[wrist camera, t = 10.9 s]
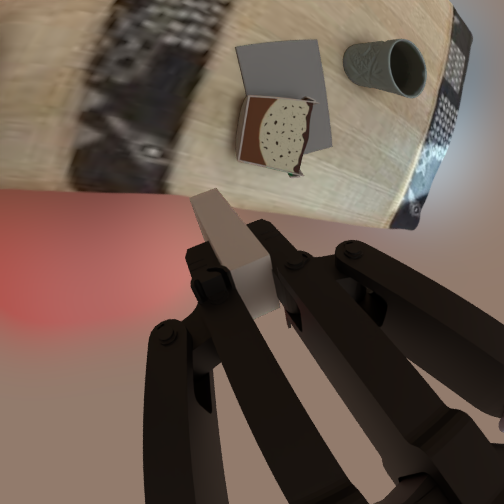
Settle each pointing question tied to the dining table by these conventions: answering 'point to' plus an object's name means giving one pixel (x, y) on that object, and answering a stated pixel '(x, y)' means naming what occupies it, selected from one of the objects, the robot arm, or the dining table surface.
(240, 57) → the mat
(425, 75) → the grey green cup
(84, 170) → the dining table surface
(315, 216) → the dining table surface
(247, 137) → the food container
